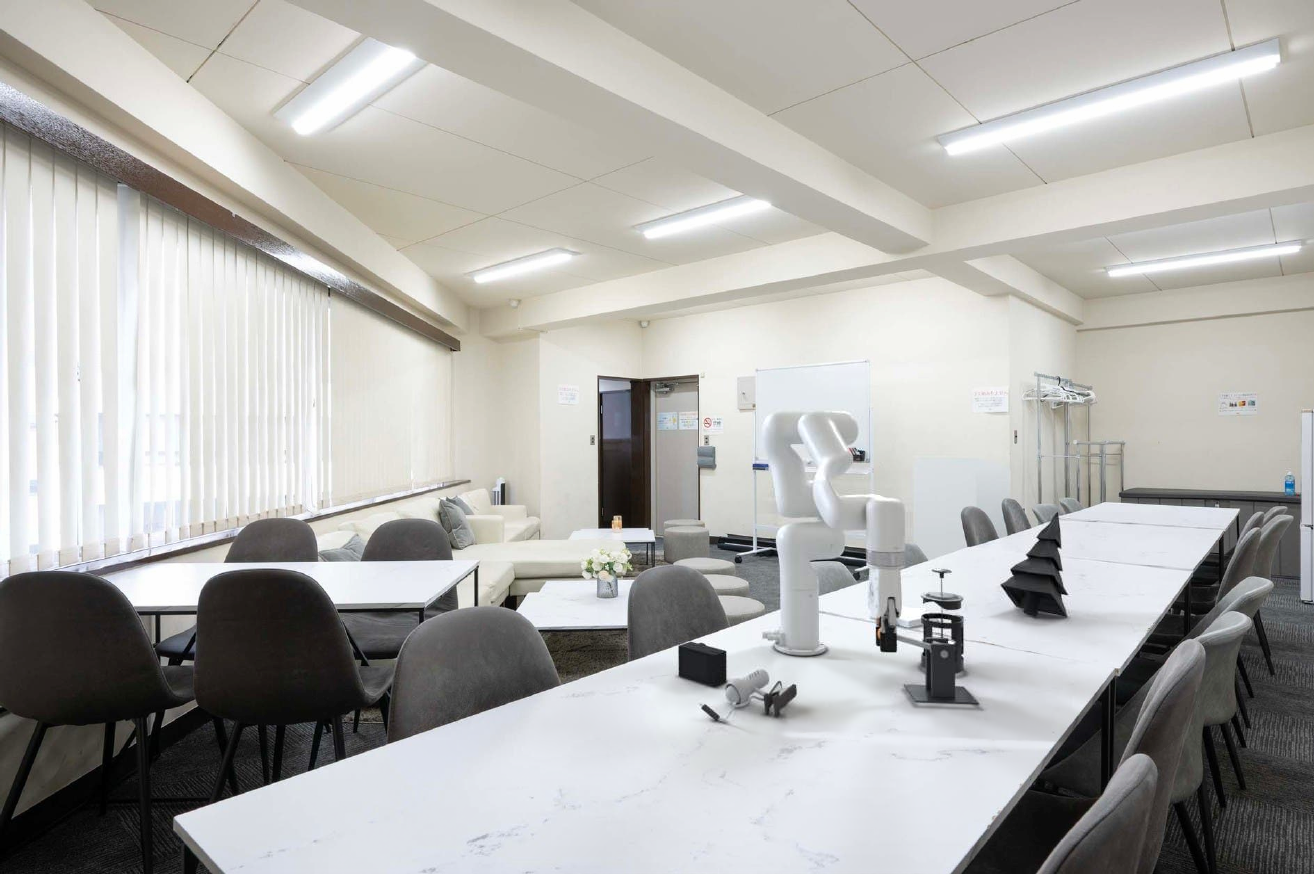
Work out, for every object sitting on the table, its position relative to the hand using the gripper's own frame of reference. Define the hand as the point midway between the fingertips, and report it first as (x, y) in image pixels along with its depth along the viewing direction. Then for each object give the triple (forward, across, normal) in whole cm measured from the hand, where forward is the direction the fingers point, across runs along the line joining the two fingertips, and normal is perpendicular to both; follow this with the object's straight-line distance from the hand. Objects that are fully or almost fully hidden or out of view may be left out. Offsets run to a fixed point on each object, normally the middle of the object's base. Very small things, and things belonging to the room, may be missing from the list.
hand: (886, 648), depth 139 cm
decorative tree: (+10, -74, +62) cm, 97 cm away
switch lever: (0, 0, +5) cm, 5 cm away
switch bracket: (+10, 0, +10) cm, 15 cm away
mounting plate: (+10, -62, +19) cm, 66 cm away
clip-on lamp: (+10, +10, -28) cm, 32 cm away
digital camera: (+10, -7, -38) cm, 39 cm away
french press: (+10, -18, +17) cm, 27 cm away
